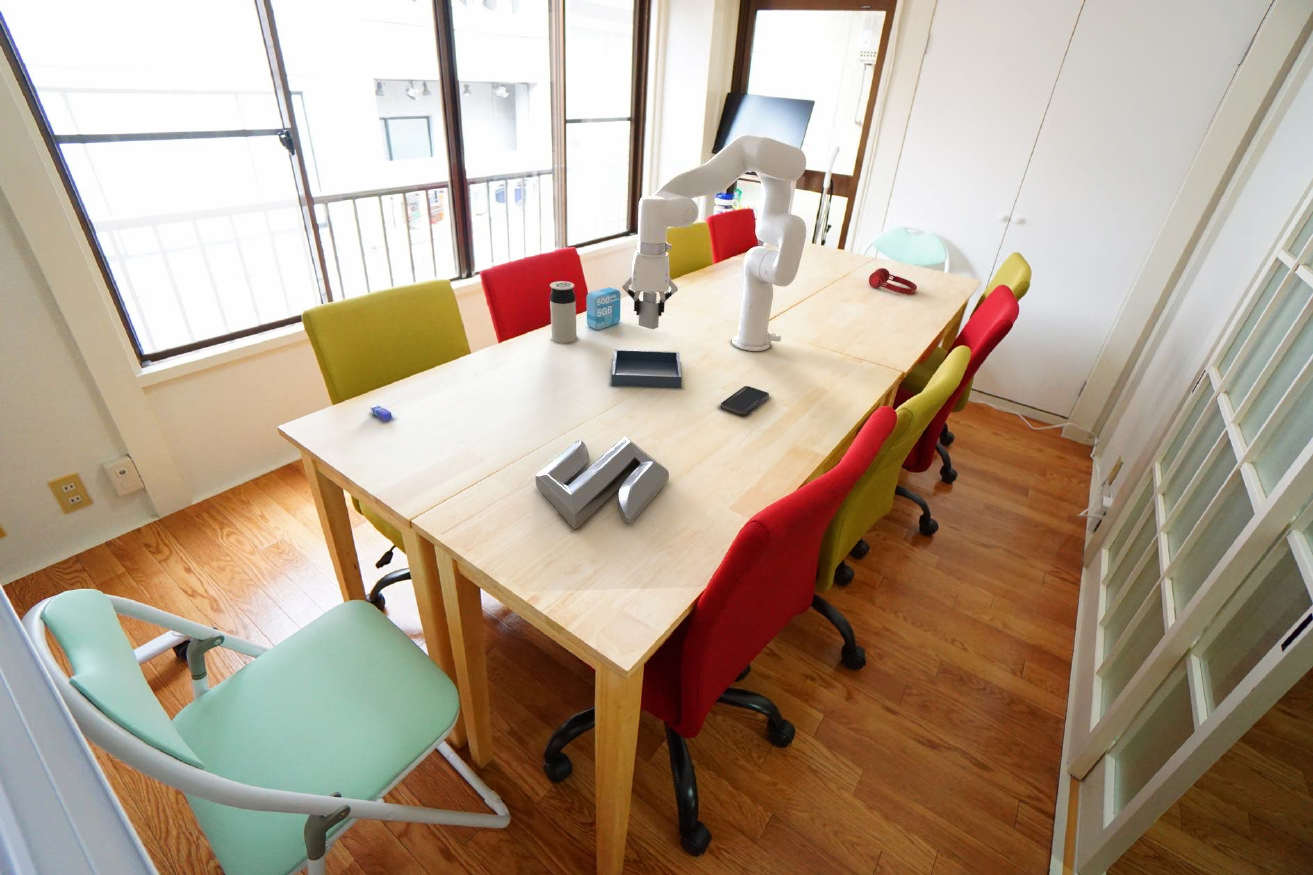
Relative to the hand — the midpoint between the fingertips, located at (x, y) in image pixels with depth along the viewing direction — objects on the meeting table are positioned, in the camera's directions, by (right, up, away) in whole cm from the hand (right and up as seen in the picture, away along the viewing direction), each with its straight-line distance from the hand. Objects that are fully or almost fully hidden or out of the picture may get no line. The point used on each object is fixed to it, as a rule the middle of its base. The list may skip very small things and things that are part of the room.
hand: (648, 313), depth 160 cm
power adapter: (0, -3, +2) cm, 4 cm away
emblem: (-9, -45, -38) cm, 60 cm away
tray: (-1, -16, +10) cm, 18 cm away
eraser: (-65, -29, -18) cm, 74 cm away
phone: (+26, -25, -3) cm, 36 cm away
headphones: (+107, +32, +96) cm, 147 cm away
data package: (-16, +5, +41) cm, 45 cm away
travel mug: (-28, -2, +29) cm, 41 cm away
